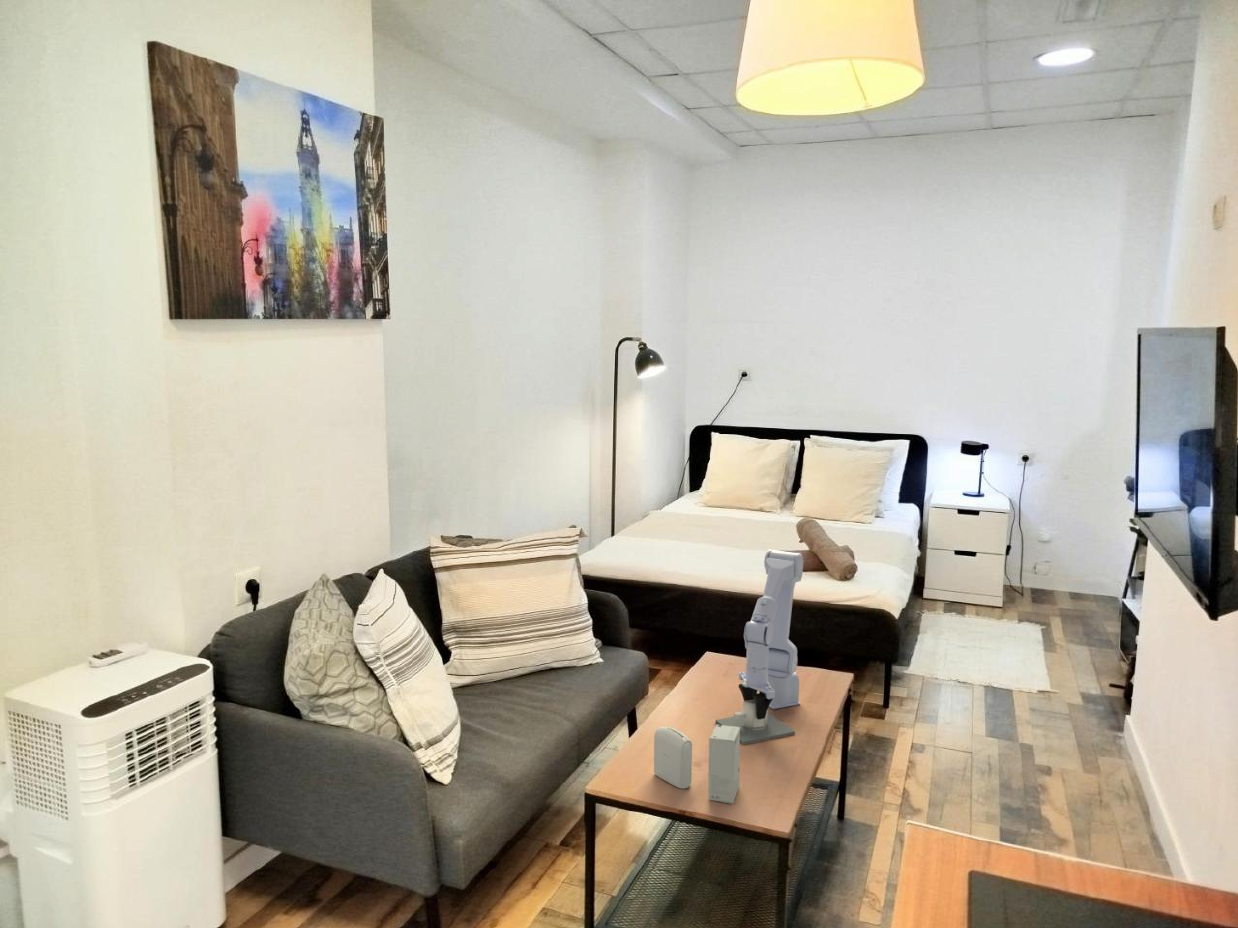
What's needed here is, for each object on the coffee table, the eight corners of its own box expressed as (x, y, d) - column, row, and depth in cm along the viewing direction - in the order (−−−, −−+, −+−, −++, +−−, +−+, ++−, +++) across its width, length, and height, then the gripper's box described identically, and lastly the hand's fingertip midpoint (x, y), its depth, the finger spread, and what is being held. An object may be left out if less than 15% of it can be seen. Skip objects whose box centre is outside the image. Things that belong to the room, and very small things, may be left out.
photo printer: (651, 773, 206) (651, 724, 204) (664, 768, 208) (665, 720, 207) (680, 791, 198) (681, 740, 196) (694, 785, 200) (695, 735, 199)
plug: (761, 720, 234) (762, 698, 233) (770, 725, 230) (770, 703, 230) (731, 724, 230) (732, 702, 230) (739, 729, 226) (740, 707, 226)
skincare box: (733, 804, 192) (735, 741, 190) (706, 800, 194) (708, 737, 192) (739, 786, 200) (741, 725, 198) (714, 782, 202) (715, 722, 200)
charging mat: (765, 713, 240) (765, 709, 240) (795, 734, 228) (795, 730, 227) (715, 722, 234) (715, 719, 234) (743, 744, 221) (743, 741, 221)
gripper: (729, 658, 233) (728, 706, 235) (759, 677, 220) (757, 727, 222) (752, 654, 236) (750, 702, 238) (782, 673, 223) (780, 723, 225)
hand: (755, 714), depth 230 cm, fingers open, 5 cm apart
